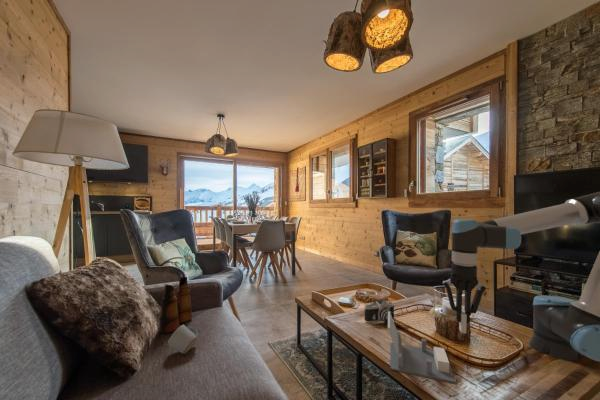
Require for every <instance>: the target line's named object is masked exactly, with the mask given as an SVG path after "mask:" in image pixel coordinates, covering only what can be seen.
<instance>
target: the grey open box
mask: <svg viewBox="0 0 600 400" xmlns="http://www.w3.org/2000/svg"><path fill="white" fill-rule="evenodd" d="M397 332H398V339H399V353H398V354H397V352H396V350H395V347H394V344H393V342H392V341H391V342H390V348H389V349H390V370H391V371H393V372H400V373H405V374H408V375H412V376H413V375H414V376H418V377H419V376H420V377H423V378H428V379H433V380H438V381H442V382H447V383H452V384H457V380H456V376H455V373H454V371H453V369H452V366H451V363H450V361H449V358H448V355H447V353H446V351H445V353H446V356H447V358H448V361H449V373H447V372H442V371H438V369H437V366H436V362H435V359H434V349H430V348H429V349H428V348H427V339H426V338H421V347H420V346H419V347H418V346H414V345H413V346H412V345H408V344H403V341H402V335H401V331H400V330H397Z"/></svg>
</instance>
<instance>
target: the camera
mask: <svg viewBox="0 0 600 400" xmlns="http://www.w3.org/2000/svg"><path fill="white" fill-rule="evenodd" d="M389 311H390V313H391V316H392V318H393V320H394V319H395V304H394V303H393V302H392V301H391V300H388V301H386V300H383V299H376V301H375V302H374V301H373V302H369V303H368V302H367V303H365V305H364V321H365V322H366V323H375V322H384V323H385V324H388V312H389Z"/></svg>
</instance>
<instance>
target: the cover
mask: <svg viewBox="0 0 600 400" xmlns="http://www.w3.org/2000/svg"><path fill="white" fill-rule="evenodd" d="M387 330H388V332H389V335H390V338H391V342H392V343H393V344H394V347H395V350H396V352H397V354H398V353H399V339H398V332H397V331H398V330H397V327H396V324H395V322H394V319H393V318H392V316H391V313H390V311H389V312H388V323H387Z"/></svg>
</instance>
